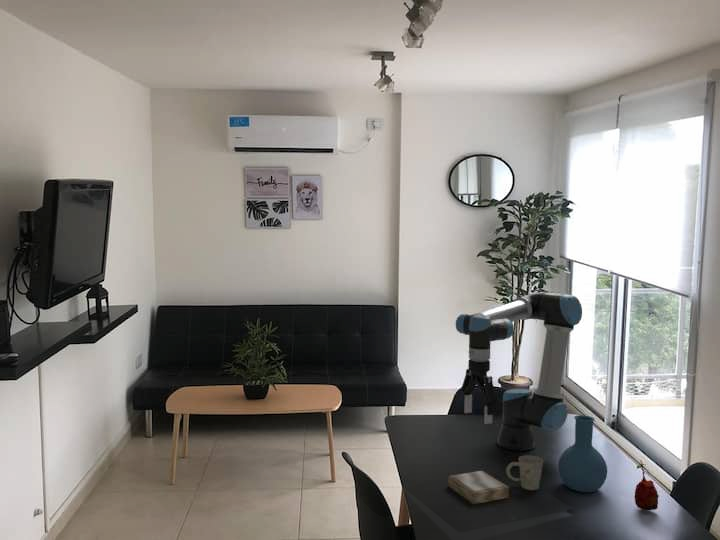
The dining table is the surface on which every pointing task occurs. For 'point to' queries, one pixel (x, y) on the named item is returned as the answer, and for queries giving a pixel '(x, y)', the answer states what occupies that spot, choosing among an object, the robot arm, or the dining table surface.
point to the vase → (582, 460)
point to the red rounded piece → (646, 494)
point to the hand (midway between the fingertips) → (477, 417)
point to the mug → (528, 471)
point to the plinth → (478, 487)
